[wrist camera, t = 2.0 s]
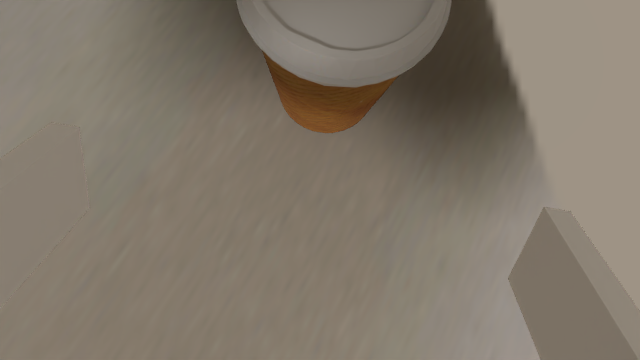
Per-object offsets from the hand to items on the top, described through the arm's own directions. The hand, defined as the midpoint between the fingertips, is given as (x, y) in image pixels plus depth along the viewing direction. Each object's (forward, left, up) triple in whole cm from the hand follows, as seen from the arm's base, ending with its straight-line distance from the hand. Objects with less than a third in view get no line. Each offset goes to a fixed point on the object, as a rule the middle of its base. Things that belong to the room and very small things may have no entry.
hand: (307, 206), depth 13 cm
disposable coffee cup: (-5, +10, -15) cm, 19 cm away
